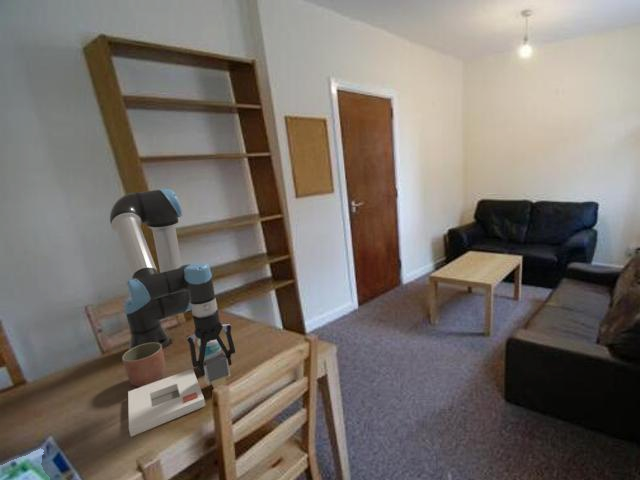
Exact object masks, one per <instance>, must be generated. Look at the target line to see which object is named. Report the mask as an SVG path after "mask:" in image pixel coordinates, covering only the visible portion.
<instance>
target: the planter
mask: <svg viewBox="0 0 640 480" xmlns="http://www.w3.org/2000/svg"><path fill="white" fill-rule="evenodd" d="M121 361H122V363H123V367H124V369H125V373H126V376H127V378H128V380H129V383H130V384H131V385H132V386H134V387H137V388H139V387H142V386H145V385H148V384H151V383H153V382H156V381H159V380H162V379H163V376H164V375H165V373H166V361H165V356H164V351H163V349H162V345H161V344H160V343H156V342H152V343H145V344H142V345H139V346H136V347H134V348H132V349H130V350H129V349H128V350H127V351H125V352H124V354H123V355H122V357H121Z"/></svg>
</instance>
